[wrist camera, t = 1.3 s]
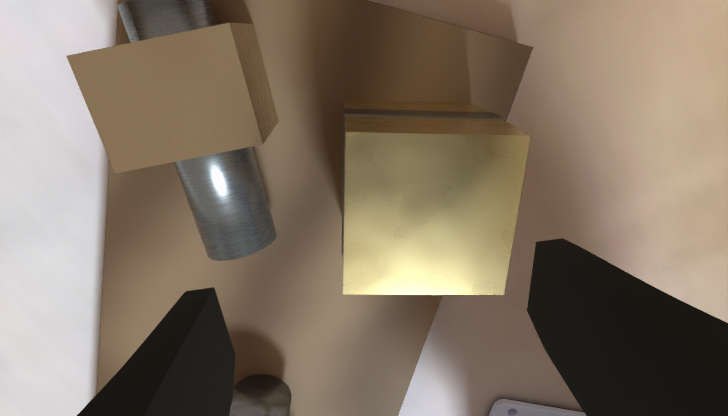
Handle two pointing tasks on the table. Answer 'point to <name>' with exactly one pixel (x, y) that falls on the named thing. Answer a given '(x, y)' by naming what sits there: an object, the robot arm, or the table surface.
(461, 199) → the tan wooden block
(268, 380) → the shaft
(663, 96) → the table surface
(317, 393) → the board
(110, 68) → the shaft
